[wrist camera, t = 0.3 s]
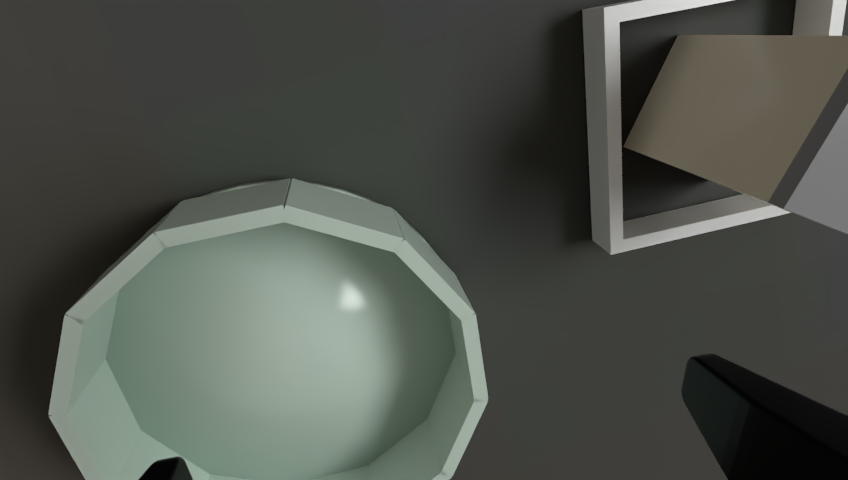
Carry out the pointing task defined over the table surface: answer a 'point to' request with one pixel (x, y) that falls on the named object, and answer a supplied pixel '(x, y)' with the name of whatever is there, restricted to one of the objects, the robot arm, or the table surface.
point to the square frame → (601, 34)
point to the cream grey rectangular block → (756, 119)
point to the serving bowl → (272, 345)
